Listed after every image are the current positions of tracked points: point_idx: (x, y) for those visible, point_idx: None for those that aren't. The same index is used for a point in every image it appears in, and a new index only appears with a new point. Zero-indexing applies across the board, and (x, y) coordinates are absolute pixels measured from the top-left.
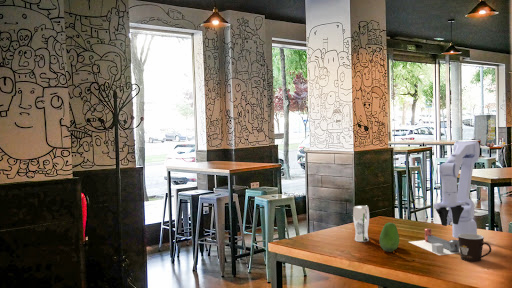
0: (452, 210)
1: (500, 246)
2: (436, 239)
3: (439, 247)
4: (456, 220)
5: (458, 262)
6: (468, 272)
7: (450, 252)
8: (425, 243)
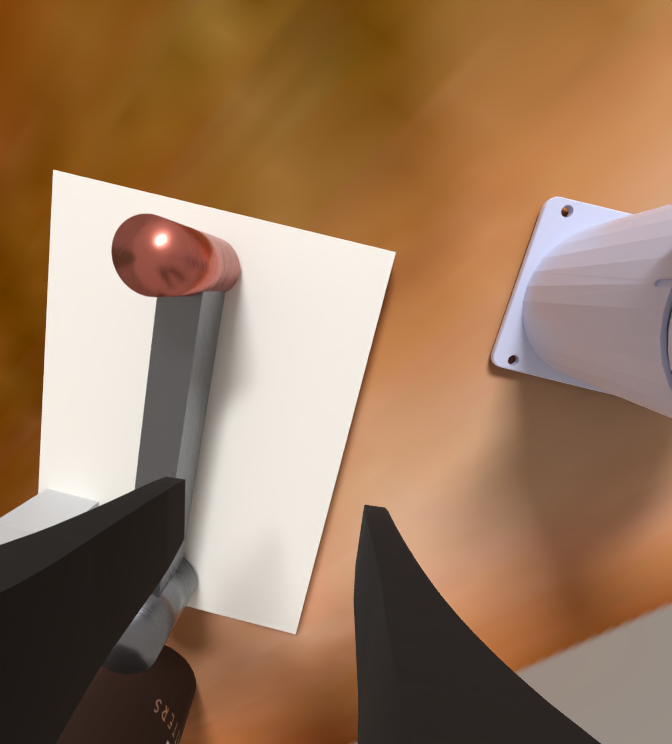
0: (390, 701)
1: (620, 585)
2: (146, 423)
3: None
4: (358, 605)
5: None
6: None
7: None
8: (149, 304)
